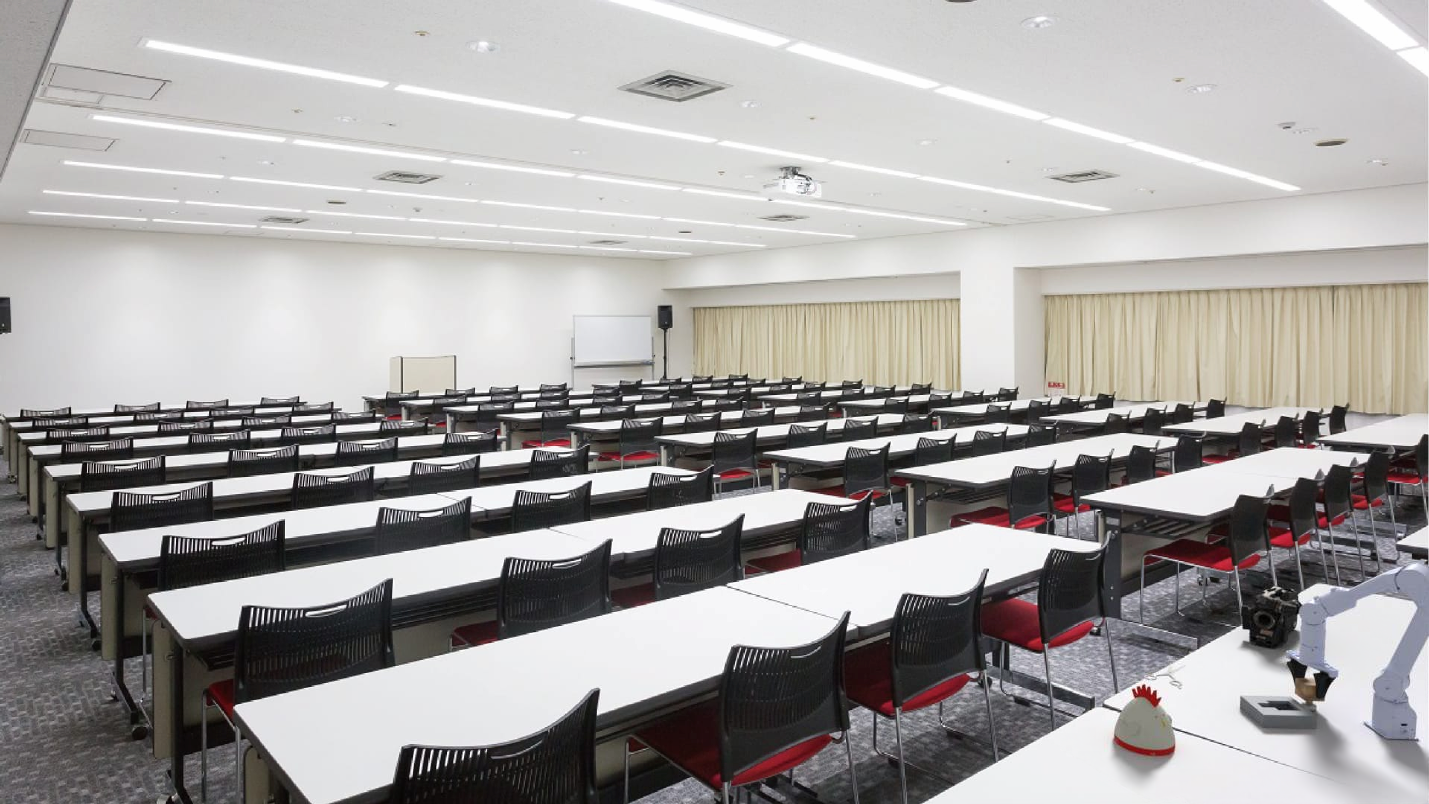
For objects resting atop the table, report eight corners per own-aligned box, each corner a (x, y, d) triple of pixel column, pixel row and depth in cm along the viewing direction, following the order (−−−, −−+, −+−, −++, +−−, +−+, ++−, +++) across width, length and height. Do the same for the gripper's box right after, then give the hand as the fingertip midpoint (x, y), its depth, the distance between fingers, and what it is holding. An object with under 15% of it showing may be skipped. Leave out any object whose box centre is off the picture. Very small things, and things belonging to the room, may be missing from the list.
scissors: (1141, 679, 266) (1159, 658, 282) (1141, 681, 266) (1159, 660, 282) (1181, 688, 260) (1197, 666, 275) (1181, 690, 260) (1197, 669, 275)
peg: (1323, 712, 243) (1325, 685, 242) (1304, 712, 244) (1306, 685, 243) (1313, 704, 248) (1314, 678, 247) (1294, 704, 249) (1295, 677, 248)
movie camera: (1294, 655, 282) (1295, 599, 281) (1232, 642, 295) (1233, 589, 295) (1327, 636, 302) (1328, 583, 301) (1268, 625, 315) (1268, 575, 315)
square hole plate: (1316, 728, 234) (1316, 715, 234) (1263, 727, 235) (1263, 714, 235) (1290, 708, 246) (1290, 696, 246) (1239, 707, 247) (1240, 695, 247)
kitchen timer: (1147, 760, 219) (1149, 701, 217) (1102, 736, 231) (1103, 680, 230) (1187, 749, 224) (1190, 690, 223) (1141, 726, 237) (1143, 671, 235)
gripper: (1348, 652, 238) (1345, 702, 239) (1301, 634, 252) (1299, 681, 253) (1326, 655, 236) (1324, 705, 238) (1280, 636, 250) (1278, 683, 252)
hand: (1309, 693), depth 245 cm, fingers closed on peg, 6 cm apart
